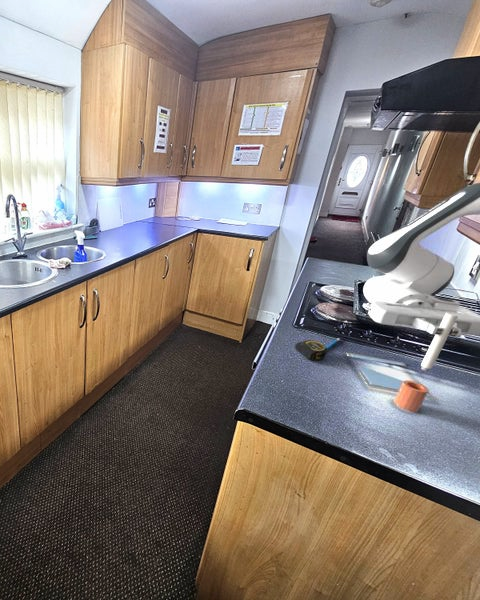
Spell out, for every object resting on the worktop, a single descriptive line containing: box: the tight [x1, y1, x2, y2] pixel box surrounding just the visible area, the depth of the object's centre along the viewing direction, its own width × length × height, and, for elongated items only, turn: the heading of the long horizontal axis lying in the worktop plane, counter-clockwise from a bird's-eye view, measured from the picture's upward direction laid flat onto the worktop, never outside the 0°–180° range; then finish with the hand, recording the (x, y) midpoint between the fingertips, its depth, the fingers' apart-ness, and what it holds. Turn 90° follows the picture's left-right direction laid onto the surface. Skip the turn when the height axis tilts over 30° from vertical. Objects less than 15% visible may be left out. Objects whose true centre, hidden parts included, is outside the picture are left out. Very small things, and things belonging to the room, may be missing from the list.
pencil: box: [325, 337, 341, 350], centre depth 103 cm, size 1×17×1 cm, turn 124°
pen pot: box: [393, 380, 430, 413], centre depth 77 cm, size 4×4×6 cm
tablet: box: [344, 352, 439, 401], centre depth 90 cm, size 14×18×1 cm
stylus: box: [420, 312, 458, 372], centre depth 72 cm, size 2×2×14 cm
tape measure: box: [294, 339, 328, 362], centre depth 98 cm, size 7×7×4 cm
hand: (447, 332), depth 70 cm, fingers closed on stylus, 2 cm apart
